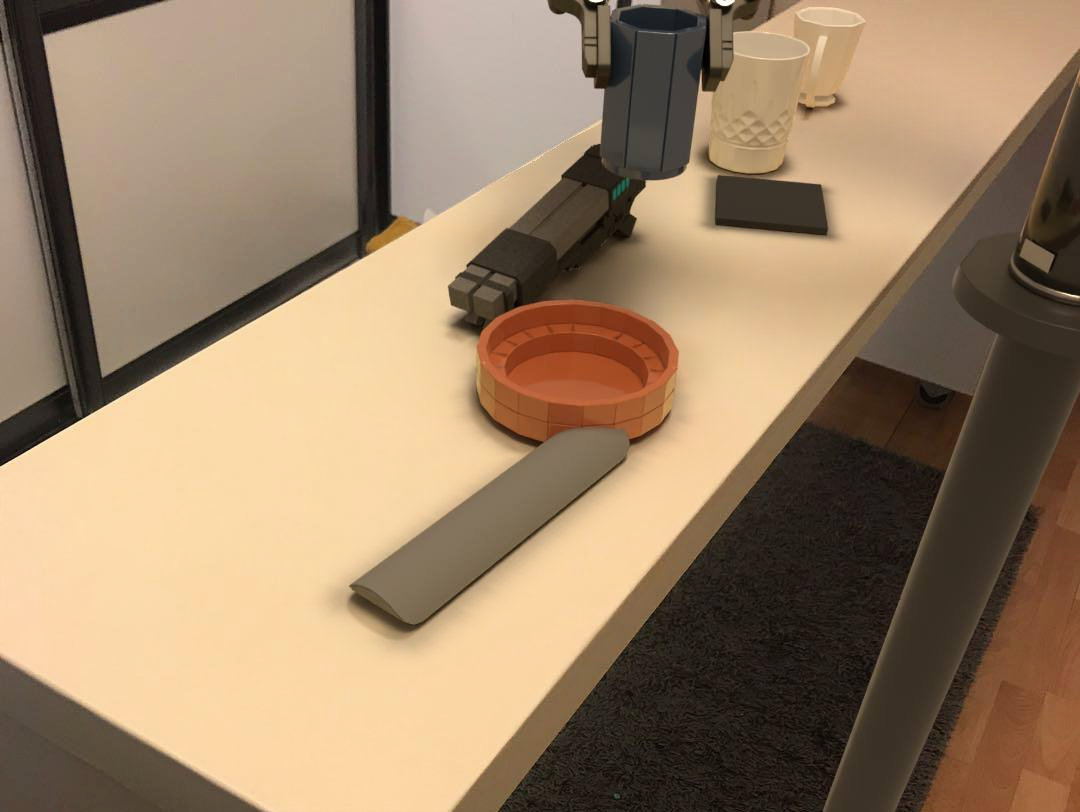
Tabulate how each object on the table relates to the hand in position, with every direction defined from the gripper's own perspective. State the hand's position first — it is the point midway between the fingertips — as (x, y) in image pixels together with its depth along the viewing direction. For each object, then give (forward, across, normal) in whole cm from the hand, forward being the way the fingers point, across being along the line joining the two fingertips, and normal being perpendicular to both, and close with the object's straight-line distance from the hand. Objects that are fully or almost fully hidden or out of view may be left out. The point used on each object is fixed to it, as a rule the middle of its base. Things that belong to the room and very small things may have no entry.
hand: (657, 82), depth 58 cm
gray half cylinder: (+24, -9, +2) cm, 25 cm away
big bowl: (+15, -4, +10) cm, 19 cm away
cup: (-23, +25, +49) cm, 60 cm away
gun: (+4, -4, +21) cm, 22 cm away
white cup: (-12, +15, +38) cm, 43 cm away
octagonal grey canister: (+2, 0, +5) cm, 5 cm away
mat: (-5, +15, +31) cm, 35 cm away
